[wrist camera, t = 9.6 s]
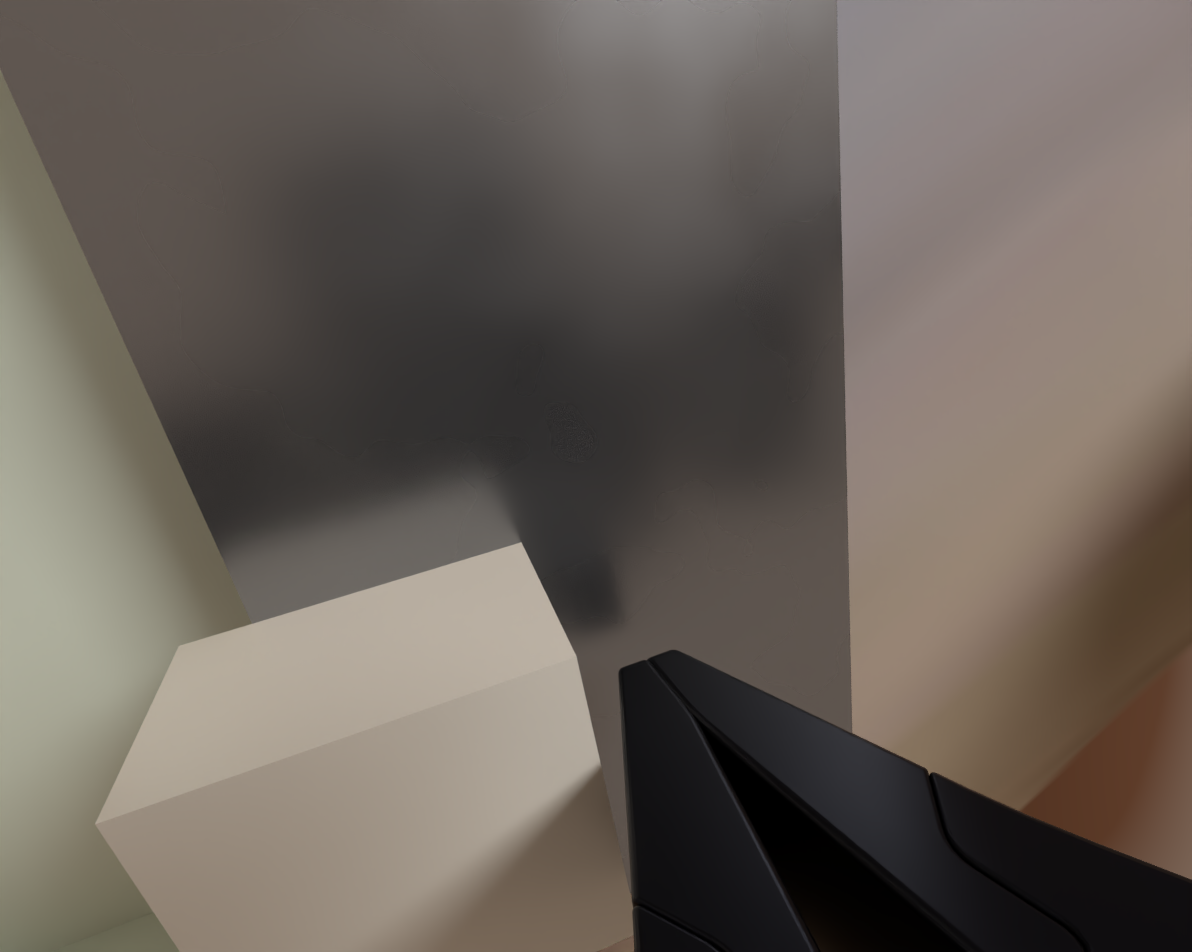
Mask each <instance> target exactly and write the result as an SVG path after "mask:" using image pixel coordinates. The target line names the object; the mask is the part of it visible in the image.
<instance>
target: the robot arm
mask: <svg viewBox="0 0 1192 952" xmlns="http://www.w3.org/2000/svg"><path fill="white" fill-rule="evenodd" d="M618 682H619V698H620V715H621V731H622V747H623V764H624V780H625V797H626V813H627V829H628V846H629V862H630V878H631V895H632V905H633V910H632V919H633V935H634V952H1192V880H1191V879H1188V878H1186V877H1183V876H1181V875H1178V874H1175V873H1173V872H1170V871H1168V870H1165V869H1162V868H1160V867H1157V866H1155V865H1152V864H1150V863H1147V862H1144V861H1142V860H1139V859H1137V858H1134V857H1132V856H1129V855H1126V854H1124V853H1121V852H1119V851H1116V850H1113V849H1111V848H1108V847H1106V846H1103V845H1100V844H1098V843H1095V842H1093V841H1090V840H1088V839H1085V838H1083V837H1080V836H1078V835H1075V834H1073V833H1071V832H1068V831H1065V830H1063V829H1061V828H1058V827H1056V826H1053V825H1051V824H1048V823H1045V822H1043V821H1041V820H1039V819H1036V818H1033V817H1031V816H1029V815H1026V814H1024V813H1022V812H1020V811H1017V810H1015V809H1013V808H1011V807H1009V806H1006V805H1004V804H1002V803H1000V802H997V801H995V800H993V799H991V798H989V797H986V796H984V795H982V794H980V793H977V792H975V791H973V790H971V789H969V788H967V787H964V786H962V785H960V784H958V783H956V782H954V781H952V780H950V779H948V778H946V777H943V776H941V775H939V774H937V773H934V772H932V773H931V774H930V775H929V773H928V771H927V769H926V768H924V767H922V766H920V765H918V764H916V763H913V762H911V761H909V760H907V759H905V758H903V757H901V756H899V755H897V754H895V753H892V752H890V751H888V750H886V749H884V748H882V747H880V746H878V745H876V744H874V743H872V742H869V741H867V740H865V739H863V738H861V737H859V736H857V735H855V734H853V733H851V732H848V731H846V730H844V729H842V728H840V727H838V726H836V725H834V724H832V723H830V722H827V721H825V720H823V719H821V718H819V717H817V716H815V715H813V714H811V713H809V712H806V711H804V710H802V709H800V708H798V707H796V706H794V705H792V704H790V703H788V702H785V701H783V700H781V699H779V698H777V697H775V696H773V695H771V694H769V693H767V692H765V691H762V690H760V689H758V688H756V687H754V686H752V685H750V684H748V683H746V682H744V681H741V680H739V679H737V678H735V677H733V676H731V675H729V674H727V673H725V672H723V671H720V670H718V669H716V668H714V667H712V666H710V665H708V664H706V663H704V662H702V661H699V660H697V659H695V658H693V657H691V656H689V655H687V654H685V653H683V652H681V651H678V650H669V651H666V652H663V653H661V654H658V655H655V656H652V657H650V658H648V659H647V660H641V661H638V662H636V663H633V664H630V665H627V666H625V667H622V668H620V670H619V672H618Z"/></svg>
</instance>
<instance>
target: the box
mask: <svg viewBox="0 0 1192 952" xmlns="http://www.w3.org/2000/svg"><path fill="white" fill-rule="evenodd" d="M250 624H252V622H251V620H250V618H249V616H248V614H247V611H246V609H245V607H244V605H243V603H242V600H241V598H240V596H239V594H238V592H237V589H236V587H235V585H234V583H233V581H232V578H231V576H230V574H229V572H228V570H227V567H226V565H225V563H224V561H223V559H222V556H221V554H220V552H219V550H218V548H217V545H216V543H215V541H214V539H213V537H212V534H211V532H210V530H209V528H208V526H207V523H206V521H205V519H204V517H203V515H202V512H201V510H200V508H199V506H198V504H197V501H196V499H195V497H194V495H193V493H192V490H191V488H190V486H189V484H188V482H187V479H186V477H185V475H184V473H183V471H182V468H181V466H180V464H179V462H178V460H177V457H176V455H175V453H174V451H173V449H172V446H171V444H170V442H169V440H168V438H167V435H166V433H165V431H164V429H163V427H162V424H161V422H160V420H159V418H158V416H157V413H156V411H155V409H154V407H153V405H152V402H151V400H150V398H149V396H148V394H147V391H146V389H145V387H144V385H143V383H142V380H141V378H140V376H139V374H138V372H137V369H136V367H135V365H134V363H133V361H132V358H131V356H130V354H129V352H128V350H127V347H126V345H125V343H124V341H123V339H122V336H121V334H120V332H119V330H118V328H117V325H116V323H115V321H114V319H113V317H112V314H111V312H110V310H109V308H108V306H107V303H106V301H105V299H104V297H103V295H102V292H101V290H100V288H99V286H98V284H97V281H96V279H95V277H94V275H93V273H92V270H91V268H90V266H89V264H88V262H87V259H86V257H85V255H84V253H83V251H82V248H81V246H80V244H79V242H78V240H77V237H76V235H75V233H74V231H73V229H72V226H71V224H70V222H69V220H68V218H67V215H66V213H65V211H64V209H63V207H62V204H61V202H60V200H59V198H58V196H57V193H56V191H55V189H54V187H53V185H52V182H51V180H50V178H49V176H48V174H47V171H46V169H45V167H44V165H43V163H42V160H41V158H40V156H39V154H38V152H37V149H36V147H35V145H34V143H33V141H32V138H31V136H30V134H29V132H28V130H27V127H26V125H25V123H24V121H23V119H22V116H21V114H20V112H19V110H18V108H17V105H16V103H15V101H14V99H13V97H12V94H11V92H10V90H9V88H8V86H7V83H6V81H5V79H4V77H3V74H2V72H1V70H0V952H180V951H179V950H178V948H177V947H176V945H175V944H174V942H173V941H172V939H171V938H170V936H169V935H168V933H167V932H166V930H165V929H164V927H163V926H162V924H161V923H160V921H159V920H158V918H157V917H156V915H155V914H154V912H153V911H152V909H151V908H150V906H149V905H148V903H147V902H146V900H145V899H144V897H143V896H142V894H141V893H140V891H139V890H138V888H137V887H136V885H135V884H134V882H133V881H132V879H131V878H130V876H129V875H128V873H127V872H126V870H125V869H124V867H123V866H122V864H121V863H120V861H119V860H118V858H117V857H116V855H115V854H114V852H113V851H112V849H111V848H110V846H109V845H108V843H107V842H106V840H105V839H104V837H103V836H102V834H101V833H100V831H99V830H98V828H97V827H96V825H95V823H96V821H97V819H98V817H99V815H100V813H101V811H102V808H103V806H104V804H105V802H106V800H107V798H108V796H109V794H110V791H111V789H112V787H113V785H114V783H115V781H116V779H117V776H118V774H119V772H120V770H121V768H122V766H123V764H124V762H125V759H126V757H127V755H128V753H129V751H130V749H131V747H132V745H133V742H134V740H135V738H136V736H137V734H138V732H139V730H140V728H141V725H142V723H143V721H144V719H145V717H146V715H147V713H148V711H149V708H150V706H151V704H152V702H153V700H154V698H155V696H156V694H157V691H158V689H159V687H160V685H161V683H162V681H163V679H164V677H165V674H166V672H167V670H168V668H169V666H170V664H171V662H172V659H173V657H174V655H175V653H176V651H177V649H178V647H179V646H180V645H184V644H187V643H190V642H194V641H197V640H200V639H204V638H207V637H210V636H214V635H217V634H220V633H223V632H227V631H230V630H233V629H237V628H240V627H243V626H247V625H250Z"/></svg>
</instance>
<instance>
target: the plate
mask: <svg viewBox="0 0 1192 952" xmlns="http://www.w3.org/2000/svg"><path fill="white" fill-rule="evenodd" d="M0 70H1V72H2V74H3V77H4V79H5V81H6V83H7V86H8V88H9V90H10V92H11V94H12V97H13V99H14V101H15V103H16V105H17V108H18V110H19V112H20V114H21V116H22V119H23V121H24V123H25V125H26V127H27V130H28V132H29V134H30V136H31V138H32V141H33V143H34V145H35V147H36V149H37V152H38V154H39V156H40V158H41V160H42V163H43V165H44V167H45V169H46V171H47V174H48V176H49V178H50V180H51V182H52V185H53V187H54V189H55V191H56V193H57V196H58V198H59V200H60V202H61V204H62V207H63V209H64V211H65V213H66V215H67V218H68V220H69V222H70V224H71V226H72V229H73V231H74V233H75V235H76V237H77V240H78V242H79V244H80V246H81V248H82V251H83V253H84V255H85V257H86V259H87V262H88V264H89V266H90V268H91V270H92V273H93V275H94V277H95V279H96V281H97V284H98V286H99V288H100V290H101V292H102V295H103V297H104V299H105V301H106V303H107V306H108V308H109V310H110V312H111V314H112V317H113V319H114V321H115V323H116V325H117V328H118V330H119V332H120V334H121V336H122V339H123V341H124V343H125V345H126V347H127V350H128V352H129V354H130V356H131V358H132V361H133V363H134V365H135V367H136V369H137V372H138V374H139V376H140V378H141V380H142V383H143V385H144V387H145V389H146V391H147V394H148V396H149V398H150V400H151V402H152V405H153V407H154V409H155V411H156V413H157V416H158V418H159V420H160V422H161V424H162V427H163V429H164V431H165V433H166V435H167V438H168V440H169V442H170V444H171V446H172V449H173V451H174V453H175V455H176V457H177V460H178V462H179V464H180V466H181V468H182V471H183V473H184V475H185V477H186V479H187V482H188V484H189V486H190V488H191V490H192V493H193V495H194V497H195V499H196V501H197V504H198V506H199V508H200V510H201V512H202V515H203V517H204V519H205V521H206V523H207V526H208V528H209V530H210V532H211V534H212V537H213V539H214V541H215V543H216V545H217V548H218V550H219V552H220V554H221V556H222V559H223V561H224V563H225V565H226V567H227V570H228V572H229V574H230V576H231V578H232V581H233V583H234V585H235V587H236V589H237V592H238V594H239V596H240V598H241V600H242V603H243V605H244V607H245V609H246V611H247V614H248V616H249V618H250V620H251V622H252V624H253V623H257V622H260V621H263V620H267V619H270V618H273V617H276V616H280V615H283V614H286V613H290V612H293V611H296V610H299V609H303V608H306V607H309V606H313V605H316V604H319V603H323V602H326V601H329V600H332V599H336V598H339V597H342V596H346V595H349V594H352V593H356V592H359V591H362V590H365V589H369V588H372V587H375V586H379V585H382V584H385V583H389V582H392V581H395V580H398V579H402V578H405V577H408V576H412V575H415V574H418V573H422V572H425V571H428V570H432V569H435V568H438V567H441V566H445V565H448V564H451V563H455V562H458V561H461V560H465V559H468V558H471V557H474V556H478V555H481V554H484V553H488V552H491V551H494V550H498V549H501V548H504V547H507V546H511V545H514V544H517V543H522V545H523V547H524V549H525V551H526V553H527V555H528V557H529V559H530V561H531V563H532V565H533V567H534V569H535V572H536V574H537V576H538V578H539V580H540V582H541V584H542V586H543V588H544V590H545V592H546V594H547V596H548V598H549V601H550V603H551V605H552V607H553V609H554V611H555V613H556V615H557V617H558V619H559V621H560V623H561V625H562V627H563V630H564V632H565V634H566V636H567V638H568V640H569V642H570V644H571V646H572V648H573V650H574V652H575V654H576V657H577V661H578V665H579V670H580V674H581V679H582V683H583V688H584V692H585V696H586V701H587V705H588V710H589V714H590V719H591V723H592V727H593V732H594V736H595V741H596V745H597V750H598V754H599V758H600V763H601V767H602V772H603V776H604V781H605V785H606V789H607V794H608V798H609V803H610V807H611V812H612V816H613V820H614V825H615V829H616V834H617V838H618V843H619V847H620V851H621V856H622V860H623V865H624V869H625V874H626V878H627V882H628V887H629V891H630V894H631V878H630V862H629V846H628V829H627V813H626V797H625V780H624V764H623V747H622V731H621V715H620V698H619V682H618V672H619V670H620V668H622V667H625V666H627V665H630V664H633V663H636V662H638V661H641V660H647V659H648V658H650V657H652V656H655V655H658V654H661V653H663V652H666V651H669V650H678V651H681V652H683V653H685V654H687V655H689V656H691V657H693V658H695V659H697V660H699V661H702V662H704V663H706V664H708V665H710V666H712V667H714V668H716V669H718V670H720V671H723V672H725V673H727V674H729V675H731V676H733V677H735V678H737V679H739V680H741V681H744V682H746V683H748V684H750V685H752V686H754V687H756V688H758V689H760V690H762V691H765V692H767V693H769V694H771V695H773V696H775V697H777V698H779V699H781V700H783V701H785V702H788V703H790V704H792V705H794V706H796V707H798V708H800V709H802V710H804V711H806V712H809V713H811V714H813V715H815V716H817V717H819V718H821V719H823V720H825V721H827V722H830V723H832V724H834V725H836V726H838V727H840V728H842V729H844V730H846V731H848V732H851V733H852V704H851V657H850V610H849V563H848V516H847V469H846V422H845V375H844V328H843V281H842V234H841V187H840V140H839V93H838V46H837V0H0Z"/></svg>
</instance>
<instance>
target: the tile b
mask: <svg viewBox="0 0 1192 952" xmlns="http://www.w3.org/2000/svg"><path fill="white" fill-rule="evenodd" d="M95 825H96V827H97V828H98V830H99V831H100V833H101V834H102V836H103V837H104V839H105V840H106V842H107V843H108V845H109V846H110V848H111V849H112V851H113V852H114V854H115V855H116V857H117V858H118V860H119V861H120V863H121V864H122V866H123V867H124V869H125V870H126V872H127V873H128V875H129V876H130V878H131V879H132V881H133V882H134V884H135V885H136V887H137V888H138V890H139V891H140V893H141V894H142V896H143V897H144V899H145V900H146V902H147V903H148V905H149V906H150V908H151V909H152V911H153V912H154V914H155V915H156V917H157V918H158V920H159V921H160V923H161V924H162V926H163V927H164V929H165V930H166V932H167V933H168V935H169V936H170V938H171V939H172V941H173V942H174V944H175V945H176V947H177V948H178V950H179V951H180V952H598V951H600V950H602V949H605V948H607V947H609V946H611V945H613V944H616V943H618V942H620V941H622V940H624V939H627V938H629V937H631V936H633V919H632V910H633V905H632V900H631V896H630V891H629V887H628V882H627V878H626V874H625V869H624V865H623V860H622V856H621V851H620V847H619V843H618V838H617V834H616V829H615V825H614V820H613V816H612V812H611V807H610V803H609V798H608V794H607V789H606V785H605V781H604V776H603V772H602V767H601V763H600V758H599V754H598V750H597V745H596V741H595V736H594V732H593V727H592V723H591V719H590V714H589V710H588V705H587V701H586V696H585V692H584V688H583V683H582V679H581V674H580V670H579V665H578V661H577V657H576V654H575V652H574V650H573V648H572V646H571V644H570V642H569V640H568V638H567V636H566V634H565V632H564V630H563V627H562V625H561V623H560V621H559V619H558V617H557V615H556V613H555V611H554V609H553V607H552V605H551V603H550V601H549V598H548V596H547V594H546V592H545V590H544V588H543V586H542V584H541V582H540V580H539V578H538V576H537V574H536V572H535V569H534V567H533V565H532V563H531V561H530V559H529V557H528V555H527V553H526V551H525V549H524V547H523V545H522V543H517V544H514V545H511V546H507V547H504V548H501V549H498V550H494V551H491V552H488V553H484V554H481V555H478V556H474V557H471V558H468V559H465V560H461V561H458V562H455V563H451V564H448V565H445V566H441V567H438V568H435V569H432V570H428V571H425V572H422V573H418V574H415V575H412V576H408V577H405V578H402V579H398V580H395V581H392V582H389V583H385V584H382V585H379V586H375V587H372V588H369V589H365V590H362V591H359V592H356V593H352V594H349V595H346V596H342V597H339V598H336V599H332V600H329V601H326V602H323V603H319V604H316V605H313V606H309V607H306V608H303V609H299V610H296V611H293V612H290V613H286V614H283V615H280V616H276V617H273V618H270V619H267V620H263V621H260V622H257V623H253V624H250V625H247V626H243V627H240V628H237V629H233V630H230V631H227V632H223V633H220V634H217V635H214V636H210V637H207V638H204V639H200V640H197V641H194V642H190V643H187V644H184V645H180V646H179V647H178V649H177V651H176V653H175V655H174V657H173V659H172V662H171V664H170V666H169V668H168V670H167V672H166V674H165V677H164V679H163V681H162V683H161V685H160V687H159V689H158V691H157V694H156V696H155V698H154V700H153V702H152V704H151V706H150V708H149V711H148V713H147V715H146V717H145V719H144V721H143V723H142V725H141V728H140V730H139V732H138V734H137V736H136V738H135V740H134V742H133V745H132V747H131V749H130V751H129V753H128V755H127V757H126V759H125V762H124V764H123V766H122V768H121V770H120V772H119V774H118V776H117V779H116V781H115V783H114V785H113V787H112V789H111V791H110V794H109V796H108V798H107V800H106V802H105V804H104V806H103V808H102V811H101V813H100V815H99V817H98V819H97V821H96V823H95Z"/></svg>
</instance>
